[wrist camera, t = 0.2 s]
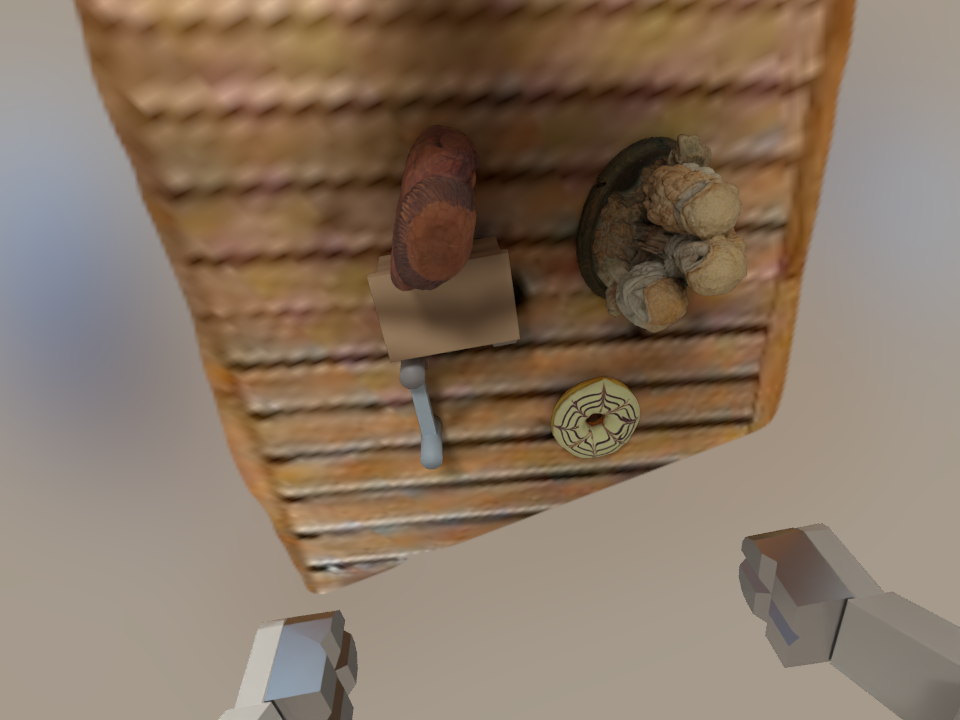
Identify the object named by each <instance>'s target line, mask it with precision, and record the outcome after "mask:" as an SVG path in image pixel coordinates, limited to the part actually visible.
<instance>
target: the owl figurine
mask: <svg viewBox="0 0 960 720" xmlns="http://www.w3.org/2000/svg"><path fill="white" fill-rule="evenodd" d="M699 142H700V141H699V137H698V136H697V135H696V136H687V135H685V134H681V135H679V136H678V138H677V141H676V140H674V139H670V138H664V137H655V138H653V137H651V138H648V139H644V140H641V141H639V142H636V143H634V144H632V145H630V146H629V147H627V148H626V149H624V150H623V151H621V152H620V153H619V154H618V155H617V156H616V157H615V158H614V159H613V160H612V161H611V162H610V163H609V164H608V165H607V167H606V169H605V170H604V171H603V172H602V173H601V174H600V175H599V177H598V178H597V179H598V181H599V182H600V183H603V182H606V185H604V186H602V187H599V188H597V185H594V186H593V188H592V190H591V191H590V193H589V195H588V198H587V200H586V203H585V205H584V208H583V212H582V216H581V219H580V223H579V227H578V237H577V250H576V251H577V257H578V263H579V267H580V270H581V273H582V276H583V278H584V280H585V282H586V283H587V285H588V286H589V288H590V289H591V290H592V291H593V292H594V293H595V294H597V295H598V296H600V297H602V298H605V299H606V307H607V308H608V313H609V314H610V315H613V316H614V317H616V316H618V315H620V314H621V313H622V314H623V315H624V316H625V317H626V318H627V319H628V320H629V321H631V322H632V323H634V325H636V326H640V327H641V328H644V329H647V330H648V331H650V332H658V331H661V330H664V329H666V327H668V325H669V324H672V323H673V322H675V321H677V320H678V319H679V318H681V317H682V316H684V315H685V313H686V312H687V306H688V303H689V299H688V297H687V293H686V292H687V291H686V287H687V286H690V287H691V288H692V289H693V290H694V291H695V292H696V293H697V294H701V295H702V296H709V295H721V294H726V293H728V292H730V291H731V290H732V289H733V288H735V286H736V285H737V284H738V283H739V282H740V281H741V280H742V279H743V278H744V277H746V275H747V258H746V254H745V249H746V242H745V241H744V239H743V238H742V237H741V236H737V235H736V232H735V230H734V226H735V224H736V220H737V217H738V216H739V215H740V211H741V201H740V200H739V196H738V195H739V191H738V189H737V188H736V186H734V185H733V184H731V183H728V182H725V181H723V180H722V178H721V176H720V175H719V174H716V173H715V172H714V170H713V169H712V168H710V167H708V166H709V163H710V160H711V150H710V148H708V147H706V146H705V147H701V145H700V143H699Z"/></svg>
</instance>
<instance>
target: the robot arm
mask: <svg viewBox="0 0 960 720" xmlns="http://www.w3.org/2000/svg"><path fill="white" fill-rule="evenodd" d="M742 552H743V553H744V555H745V556H746V559H745V560H744V561H743V562H742V563H741V564H740V567H739V580H740V584H741V589H742V592H743V595H744V597H745V599H746V602H747V603H748V605H749V607H750V609H751V611H752V612H753V614H754V615H756V616H758V617H759V618H761V619H762V620H764V621H765V622H767V627H766V637H767V639H768V640H769V642H770V644H771V645H772V647H773V649H774V650H775V652H776V654H777V655H778V657H779V659H780V661H781V662H782V664H783V665H784V667H785V668H787V667H793V666H801V665H807V664H814V663H821V662H828V661H831V663H830V664H831V665H833V666H834V667H835V668H836V669H838V670H839V671H840V672H842V673H843V674H844V675H846V676H847V677H848V678H850V679H851V680H852V681H853V682H855V683H856V684H857V685H858V686H860V687H861V688H862V689H864V690H865V691H866V692H868V693H869V694H870V695H872V696H873V697H874V698H875V699H877V700H878V701H879V702H881V703H882V704H883V705H884V706H886V707H887V708H888V709H890V710H891V711H892V712H894V713H895V714H896V715H897V716H899V717H900V718H902V719H903V720H960V627H958V626H957V625H955V624H953V623H951V622H949V621H947V620H945V619H943V618H941V617H939V616H938V615H936V614H934V613H932V612H930V611H928V610H926V609H924V608H922V607H921V606H919V605H917V604H915V603H913V602H911V601H909V600H907V599H905V598H903V597H901V596H900V595H898V594H896V593H894V592H887V593H884V591H883V590H882V589H881V588H880V587H879V586H878V584H877V583H876V582H875V581H874V580H873V579H872V577H871V576H870V575H869V574H868V573H867V571H866V570H865V569H864V568H863V567H862V566H861V564H860V563H859V562H858V561H857V560H856V559H855V557H853V555H852V554H851V553H850V552H849V550H848V549H847V548H846V547H845V546H844V545H843V544H842V542H841V541H840V540H839V539H838V537H837V536H836V535H835V534H834V533H833V532H832V531H831V529H830V528H829V527H828V526H826V525H824V524H823V523H822V524H814V525H809V526H804V527H798V528H789V529H784V530H779V531H774V532H769V533H763V534H758V535H753V536H748V537H745V539H744V540H743V543H742ZM344 624H345V619H344V617H343V616H342V614H341V612H340V610H337V611H331V612H325V613H318V614H311V615H305V616H298V617H292V618H285V619H279V620H273V621H267V622H263V623H262V624H261V626H260V627H259V629H258V630H257V633H256V636H255V640H254V643H253V646H252V650H251V653H250V657H249V660H248V663H247V667H246V670H245V674H244V677H243V681H242V684H241V687H240V691H239V694H238V698H237V701H236V704H235V707H234V708H232V709H227V710H226V711H225V712H224V713H223V715H222V716H221V717H220V718H219V719H218V720H352V716H353V706H352V703H351V701H350V699H349V697H348V695H349V693H350V692H351V691H352V689H353V688H354V686H355V685H356V679H357V669H358V667H357V651H356V647H355V642H354V640H353V637H352V635H351V634H350V633H348V632H346V631H344Z"/></svg>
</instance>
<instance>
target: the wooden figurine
mask: <svg viewBox="0 0 960 720" xmlns="http://www.w3.org/2000/svg"><path fill="white" fill-rule="evenodd" d="M478 168H479V158H478V155H477V152H476V149H475V146H474V144H473V142H472V141H471V140H470V139H469V138H468V137H467V136H466V135H465V134H463V133H461V132H459V131H458V130H455V129H452V128H449V127H441V126H438V125H434V126H432V127H429V128H427V129H426V130H425V131H423V132H422V133H421V135H420V136H419V137H418V139H417V140H416V142H415V143H414V145H413V147H412V149H411V151H410V153H409V155H408V158H407V161H406V167H405V170H404V173H403V179H402V185H401V192H400V197H399V201H398V206H397V212H396V220H395V225H394V232H393V242H392V252H391V262H390V266H391V270H390V275H391V280H392V283H393V284H394V286H395V287H396V288H398V289H399V290H401V291H411V290H413V289H419V290H433V289H435V288H437V287H439V286H440V285H441V284H443V283H445V282H447V281H448V280H450V279H451V278H453V277H454V276H456V275H457V274H458V273H459V272H460V271H461V270H462V268H463V267H464V266H465V264H466V262H467V261H468V259H469V256H470V253H471V250H472V245H473V235H474V230H475V225H476V212H475V209H474V206H475V193H474V190H473V188H474V186H475V183H476V173H475V171H476V169H478Z"/></svg>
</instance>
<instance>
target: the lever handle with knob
mask: <svg viewBox="0 0 960 720" xmlns="http://www.w3.org/2000/svg"><path fill="white" fill-rule="evenodd" d="M400 382H401V384H402V385H403V386H404V387H406V388H408V389H410V390H411V394H412V398H413V402H414V405H415V409H416V413H417V417H418V421H419V424H420V428H421V464H422V465H423V466H424V467H425V468H427V469H436V468H438V467H440V466H441V464H442V462H443V456H442V431H441V428H442V422H441V420H440V418H438V417H437V416H434V415H433V411H432V407H431V403H430V399H429V395H428V391H427V387H426V382H425V358H424V356H423V357H417V358H412V359H406V360H401V368H400Z"/></svg>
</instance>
